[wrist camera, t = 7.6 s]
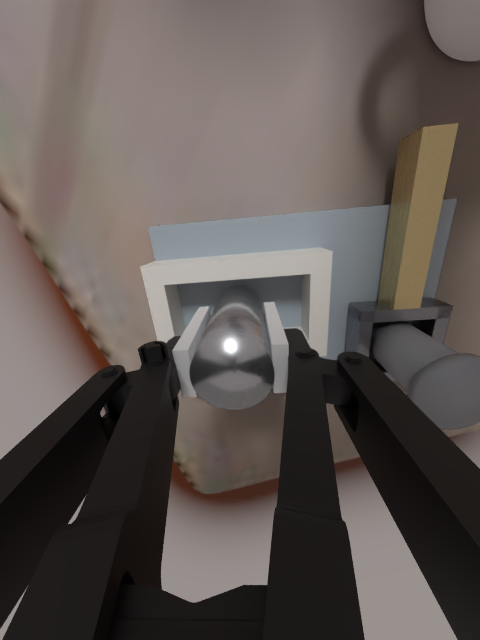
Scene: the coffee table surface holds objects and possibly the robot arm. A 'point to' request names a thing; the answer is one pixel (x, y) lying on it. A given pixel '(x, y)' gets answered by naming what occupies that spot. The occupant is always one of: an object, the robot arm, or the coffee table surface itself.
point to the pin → (234, 353)
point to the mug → (455, 27)
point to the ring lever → (409, 242)
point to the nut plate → (314, 292)
